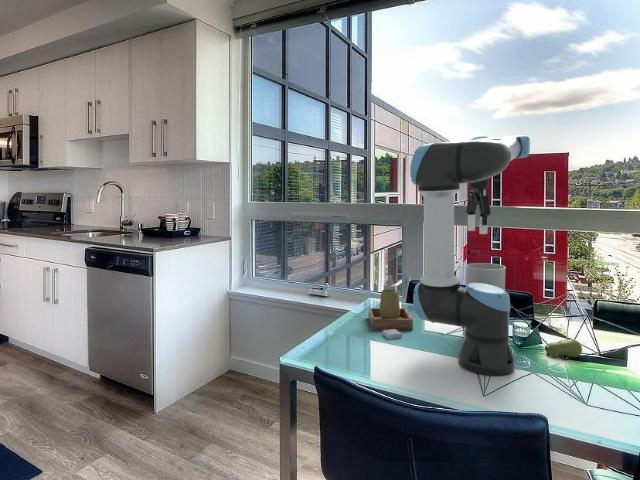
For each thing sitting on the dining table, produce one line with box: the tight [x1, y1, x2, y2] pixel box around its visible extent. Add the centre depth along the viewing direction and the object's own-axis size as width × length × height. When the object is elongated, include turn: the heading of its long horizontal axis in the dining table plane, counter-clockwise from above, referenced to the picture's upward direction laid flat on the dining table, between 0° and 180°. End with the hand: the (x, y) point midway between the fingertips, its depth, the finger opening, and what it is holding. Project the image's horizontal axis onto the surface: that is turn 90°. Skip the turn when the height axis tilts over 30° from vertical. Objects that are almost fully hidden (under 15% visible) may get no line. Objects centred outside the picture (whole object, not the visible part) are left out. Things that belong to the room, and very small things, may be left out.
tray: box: [368, 307, 414, 331], centre depth 156 cm, size 15×15×4 cm
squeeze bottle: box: [379, 274, 401, 319], centre depth 155 cm, size 8×8×18 cm
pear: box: [544, 338, 583, 358], centre depth 123 cm, size 6×5×10 cm
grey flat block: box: [382, 329, 403, 340], centre depth 143 cm, size 5×5×2 cm
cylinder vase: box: [465, 262, 507, 291], centre depth 140 cm, size 12×12×25 cm
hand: (477, 232), depth 158 cm, fingers open, 13 cm apart
